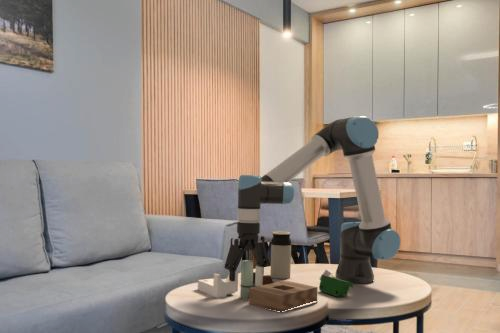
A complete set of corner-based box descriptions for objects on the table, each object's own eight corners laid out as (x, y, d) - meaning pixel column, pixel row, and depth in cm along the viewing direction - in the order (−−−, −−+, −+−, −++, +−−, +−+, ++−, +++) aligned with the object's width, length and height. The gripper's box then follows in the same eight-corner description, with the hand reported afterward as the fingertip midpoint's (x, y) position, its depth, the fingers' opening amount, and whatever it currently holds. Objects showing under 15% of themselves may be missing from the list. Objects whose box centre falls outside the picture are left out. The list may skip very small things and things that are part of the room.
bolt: (248, 286, 184) (269, 293, 171) (238, 280, 182) (258, 287, 169) (255, 272, 185) (276, 278, 172) (245, 266, 183) (265, 272, 170)
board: (285, 295, 163) (286, 280, 163) (317, 302, 154) (317, 287, 154) (248, 304, 150) (249, 288, 150) (280, 313, 141) (281, 295, 141)
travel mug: (290, 279, 189) (292, 233, 190) (270, 278, 189) (271, 233, 190) (289, 275, 197) (290, 231, 198) (270, 274, 197) (271, 231, 198)
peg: (246, 295, 161) (247, 259, 161) (255, 298, 158) (256, 261, 158) (237, 297, 158) (238, 261, 158) (246, 300, 155) (247, 262, 155)
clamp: (345, 308, 165) (358, 286, 163) (332, 306, 162) (344, 283, 160) (329, 288, 175) (340, 267, 173) (316, 285, 172) (327, 264, 170)
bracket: (235, 295, 161) (235, 273, 162) (217, 298, 157) (217, 275, 157) (214, 288, 172) (215, 266, 172) (197, 290, 168) (198, 268, 168)
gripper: (264, 219, 169) (262, 281, 169) (214, 222, 152) (212, 291, 152) (280, 221, 164) (278, 285, 164) (230, 224, 147) (228, 296, 147)
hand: (246, 288), depth 158 cm, fingers open, 11 cm apart
